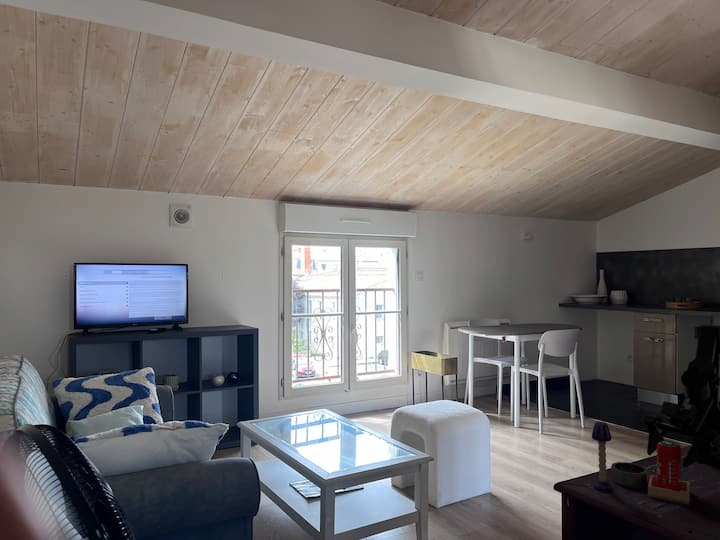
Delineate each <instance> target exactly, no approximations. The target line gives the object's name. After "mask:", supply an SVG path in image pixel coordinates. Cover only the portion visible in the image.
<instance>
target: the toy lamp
mask: <svg viewBox="0 0 720 540" xmlns="http://www.w3.org/2000/svg"><path fill="white" fill-rule="evenodd" d="M591 439H592V440H594V441H597V444H598V447H597V449H598V453H597V454H598V469H599V470H598V475H599V476H598V480H597V481H596V482H595V483H594V485H593V488H594V489H595V490H596V491H599V492H602V491H603V492H604V493H610V492H612V491H613V486H612V485H611V484H610V483H611V482H609V481H607V479H608V478H607V470H606V469H607V458H606V457H607V453H606V452H607V447H606V444H607V442H611V441H612V434H611V431H610V428H609V425H608V422H605V421H595V422H594V424H593V428H592V433H591Z"/></svg>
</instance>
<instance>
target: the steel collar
mask: <svg viewBox="0 0 720 540" xmlns="http://www.w3.org/2000/svg"><path fill="white" fill-rule="evenodd" d="M648 470H649V469H648V468H646V467H645V466H643V465H640V464H637V463H633V462H626V461H624V462H623V461H617V462H613V463H612V464H611V466H610V479H611V481H612V482H614V483H615V484H617V485H619V486H622V487H627V488H628V487H629V488H633V489H634V488H637V489H639V488H640V489H641V488H642V489H643V488H645V487H648V484H649V480H648V478H649V476H648Z"/></svg>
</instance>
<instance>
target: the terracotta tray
mask: <svg viewBox="0 0 720 540" xmlns="http://www.w3.org/2000/svg"><path fill="white" fill-rule="evenodd" d="M690 485H691V482H690V481H686V480H682V479H681V490H680V491H674V490H669V489H664V488H658V487H657V475H653V474H650V475H649V480H648V483H647V497H649V498H653V499H658V500H663V501H668V502H674V503H678V504H684V505H691V504H690V503H691V501H690V499H691V498H690Z"/></svg>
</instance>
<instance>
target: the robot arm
mask: <svg viewBox="0 0 720 540" xmlns="http://www.w3.org/2000/svg"><path fill="white" fill-rule="evenodd" d="M694 340H696V341H697V346H696V351H695V357H694V358H693V360H691V361H689V362H688V365H687V367H686V368H687V369H685V370H684V371H683V372H682V375H681V376H680V381H681V386H682V391H683V394H684V396H685V397H684V399H683V402H682V403H681V404H680V403H675V402H670V401H666V400H664V401H662V404H661V407H660V411H659V413H660V414H661V415H664V416H666V420H667V421H668V422H670V424H669V423H665V422H664V421H663V419H662V418H661V416H659V415H655V414H652V413H644V414H643V416H642V417H641V419H640V422H641V423H642V425H643V426H644V427H645V428H646V430H647V431H648V433H647V434H648V439H647V440H648V441H647V449H646V453H647V455H648V456H651V455H652V454H654V453H655V451H657V444H658V441H660V440H665V438H664V436H666V434H667V433H671V434H674V435H676V436H677V435H678V436H681V437H684V438H687V439H692V445H691V447H690V449H689V450H688V452H687V454H686V456H685V458H684V459H683V463H682V466H683V467H684V468H687V467H689V466H692V465H693V464H695V463H696V462H698V463H702V464H703V463H705V464H711V465H716V466H720V406H719V405H720V404H719V402H720V401H719V400H720V325H717V324H715V325H714V324H700V325H698V326H694Z"/></svg>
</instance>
